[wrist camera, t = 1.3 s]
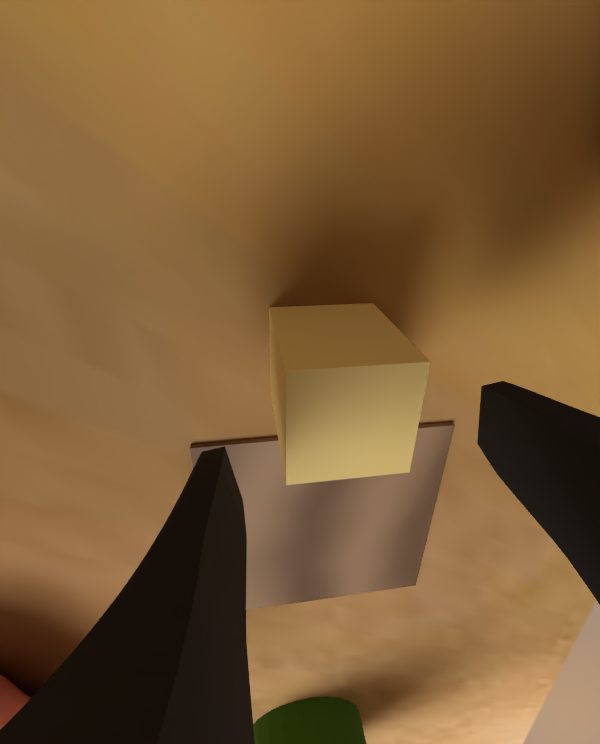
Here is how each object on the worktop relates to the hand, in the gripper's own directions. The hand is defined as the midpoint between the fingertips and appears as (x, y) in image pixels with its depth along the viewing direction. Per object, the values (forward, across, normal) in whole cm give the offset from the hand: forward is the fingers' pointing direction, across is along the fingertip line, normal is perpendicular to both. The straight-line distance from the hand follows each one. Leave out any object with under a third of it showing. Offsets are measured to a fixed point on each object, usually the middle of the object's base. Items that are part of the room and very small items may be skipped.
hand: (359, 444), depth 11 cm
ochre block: (+7, 0, 0) cm, 7 cm away
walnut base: (+7, +1, +10) cm, 12 cm away
